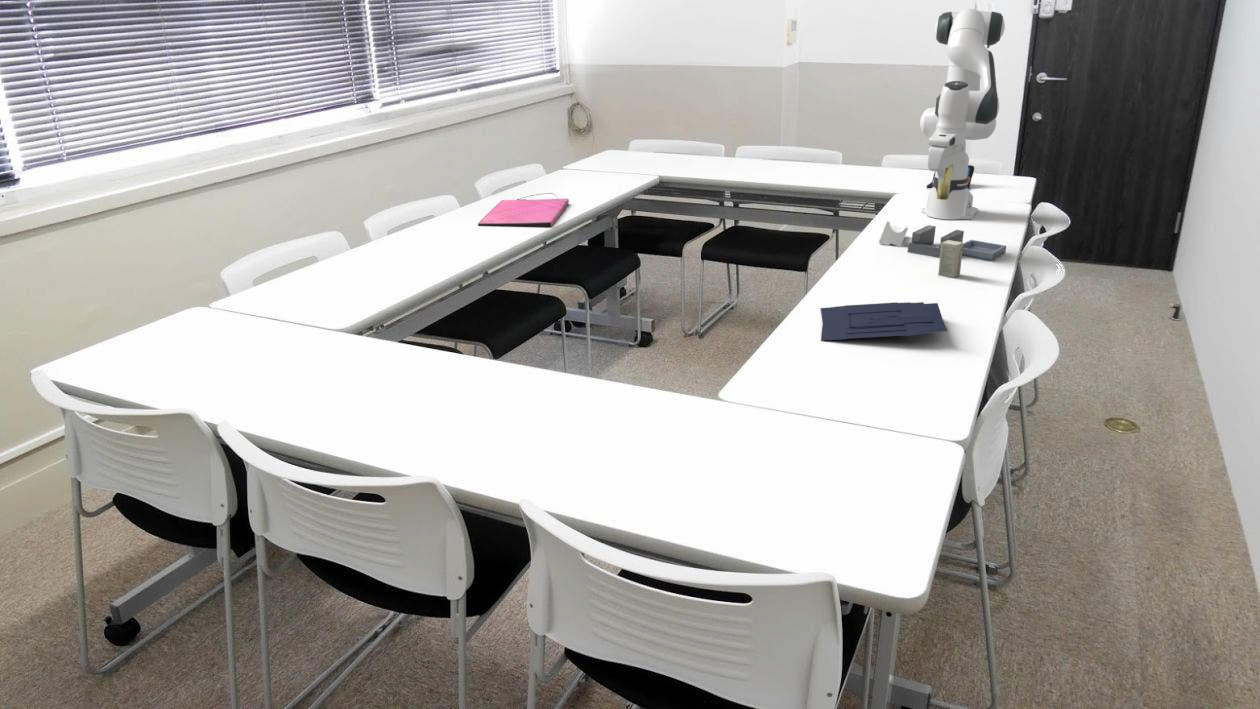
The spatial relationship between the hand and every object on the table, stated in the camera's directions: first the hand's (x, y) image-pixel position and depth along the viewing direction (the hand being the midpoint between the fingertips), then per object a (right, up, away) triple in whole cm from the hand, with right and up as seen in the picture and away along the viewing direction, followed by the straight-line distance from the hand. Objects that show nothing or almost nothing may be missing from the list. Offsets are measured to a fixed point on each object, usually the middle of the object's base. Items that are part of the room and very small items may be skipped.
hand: (944, 180), depth 290 cm
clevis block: (-1, -21, +8) cm, 23 cm away
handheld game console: (+33, +14, +92) cm, 99 cm away
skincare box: (-4, -31, -16) cm, 35 cm away
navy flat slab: (-36, -48, -55) cm, 81 cm away
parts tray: (+13, -23, +4) cm, 26 cm away
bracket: (-11, -17, +19) cm, 28 cm away
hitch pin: (0, -5, +2) cm, 6 cm away
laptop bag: (-139, -2, +60) cm, 151 cm away
